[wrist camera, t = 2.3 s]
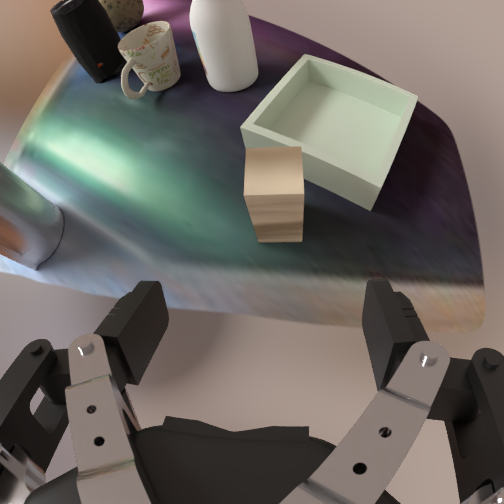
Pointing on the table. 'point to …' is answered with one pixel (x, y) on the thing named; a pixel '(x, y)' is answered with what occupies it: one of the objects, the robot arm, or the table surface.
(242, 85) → the milk bottle
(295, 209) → the birch block
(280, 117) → the bin
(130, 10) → the decorative egg
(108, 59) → the portable speaker
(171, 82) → the mug
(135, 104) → the table surface
